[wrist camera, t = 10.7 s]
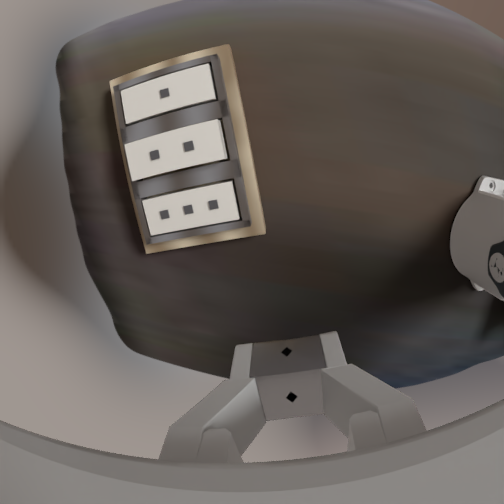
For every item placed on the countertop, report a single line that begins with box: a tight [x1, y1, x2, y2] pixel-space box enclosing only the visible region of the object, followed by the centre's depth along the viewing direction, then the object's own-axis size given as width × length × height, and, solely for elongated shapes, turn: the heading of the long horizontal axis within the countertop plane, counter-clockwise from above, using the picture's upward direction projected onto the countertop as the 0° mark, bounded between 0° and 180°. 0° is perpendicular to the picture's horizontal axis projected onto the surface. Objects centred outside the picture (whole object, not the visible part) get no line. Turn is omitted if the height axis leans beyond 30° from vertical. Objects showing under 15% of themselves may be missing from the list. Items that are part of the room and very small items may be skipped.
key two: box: [124, 119, 227, 181], centre depth 32 cm, size 11×4×2 cm, turn 101°
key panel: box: [110, 44, 266, 254], centre depth 35 cm, size 16×24×4 cm, turn 11°
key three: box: [142, 180, 241, 236], centre depth 35 cm, size 11×4×2 cm, turn 101°
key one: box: [121, 64, 218, 125], centre depth 31 cm, size 11×4×2 cm, turn 101°
